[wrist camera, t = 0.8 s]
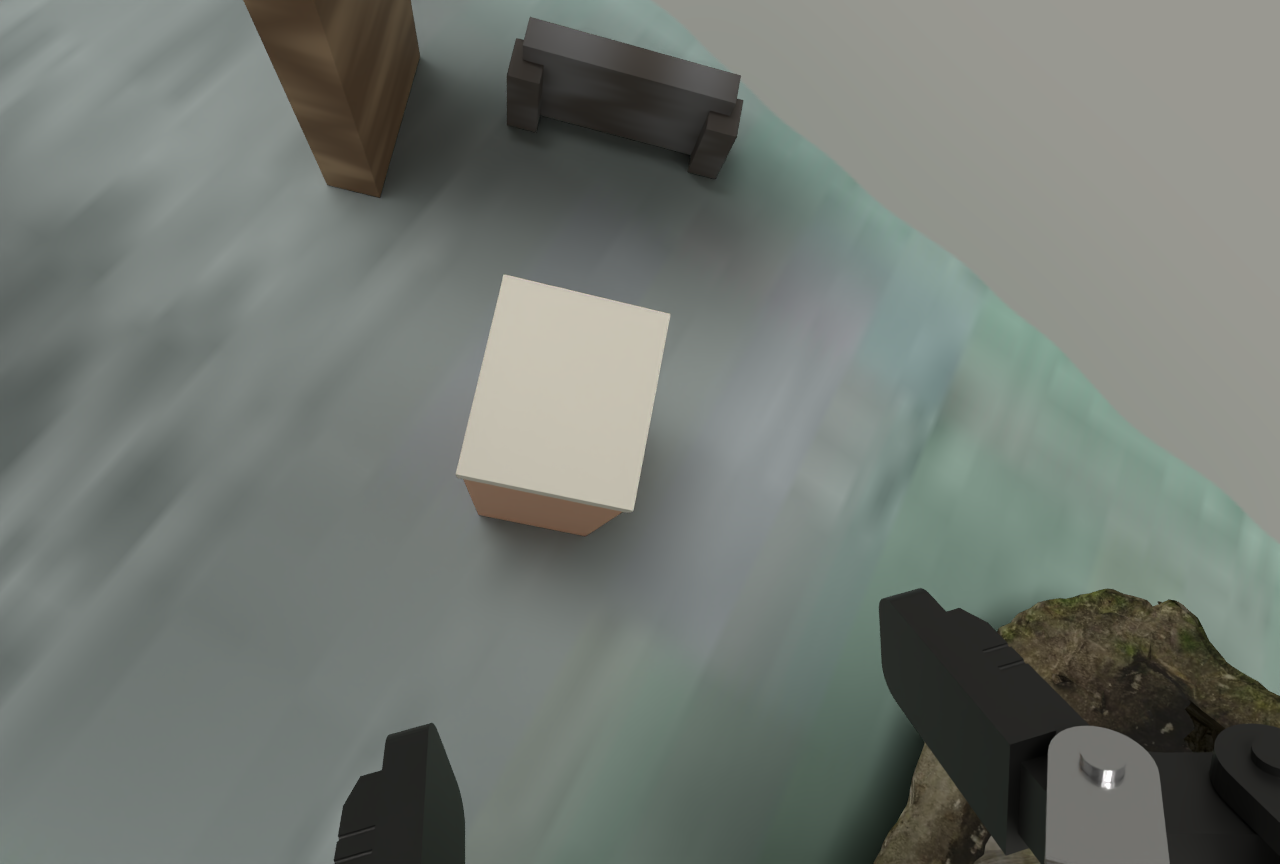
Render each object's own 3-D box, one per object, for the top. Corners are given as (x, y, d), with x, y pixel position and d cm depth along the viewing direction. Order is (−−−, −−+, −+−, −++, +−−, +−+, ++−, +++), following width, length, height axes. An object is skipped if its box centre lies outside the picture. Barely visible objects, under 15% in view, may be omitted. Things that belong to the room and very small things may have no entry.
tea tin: (475, 516, 36) (455, 474, 22) (505, 388, 37) (503, 274, 24) (587, 538, 37) (633, 510, 23) (612, 411, 38) (670, 313, 24)
